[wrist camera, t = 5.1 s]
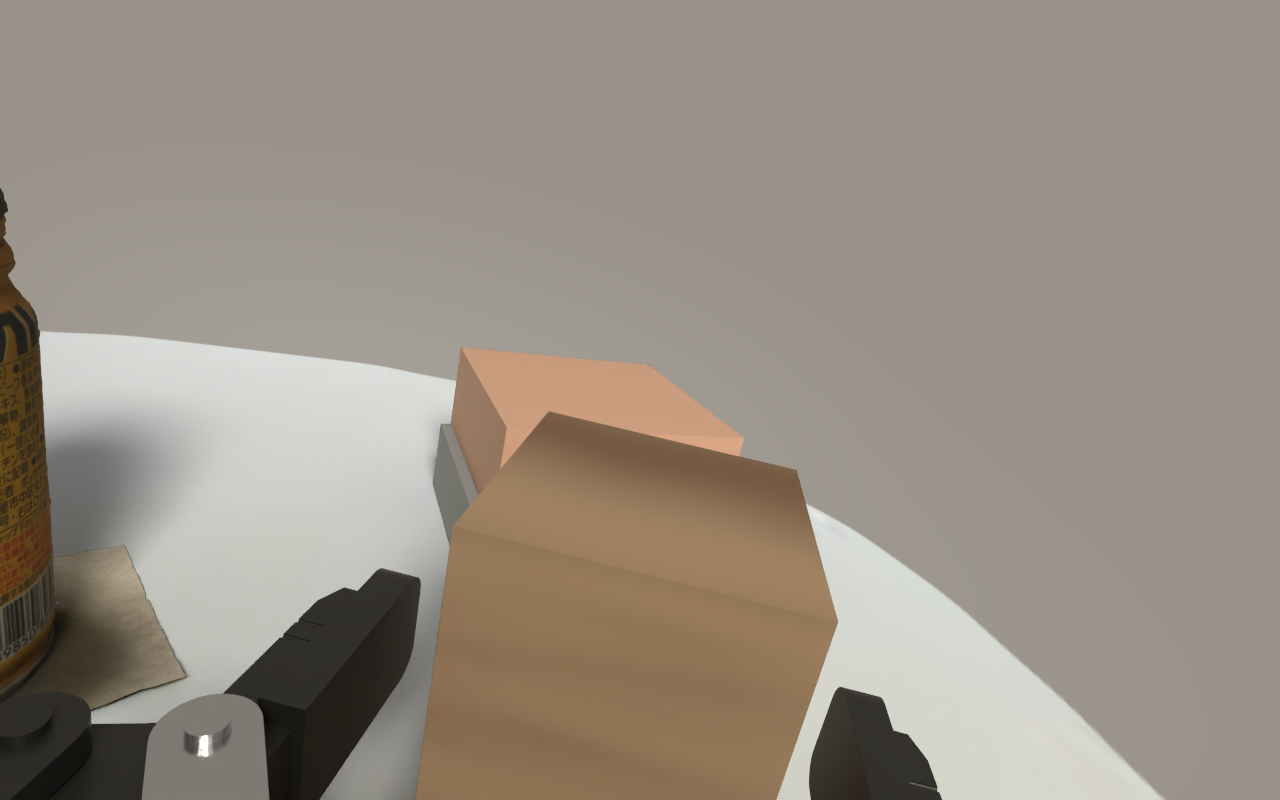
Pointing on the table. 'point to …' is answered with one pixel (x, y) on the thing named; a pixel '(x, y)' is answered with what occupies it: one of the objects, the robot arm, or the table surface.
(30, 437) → the condiment
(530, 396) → the tower top
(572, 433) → the tall block
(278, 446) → the table surface
